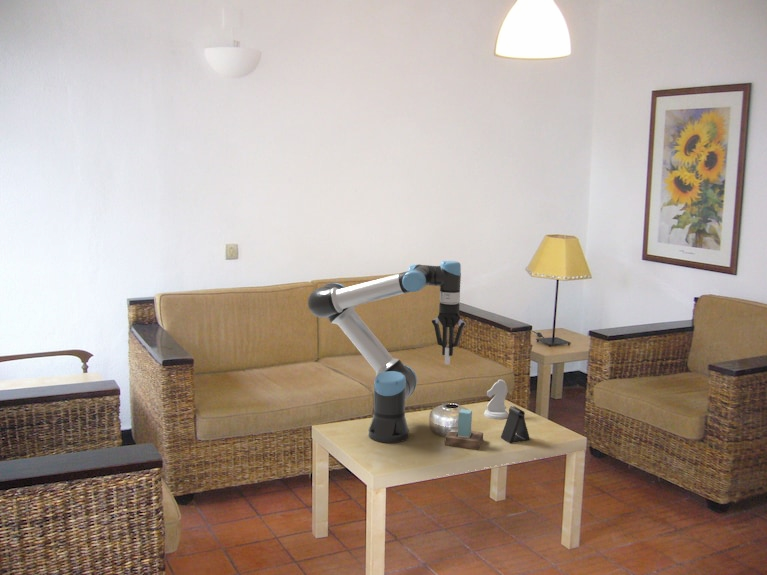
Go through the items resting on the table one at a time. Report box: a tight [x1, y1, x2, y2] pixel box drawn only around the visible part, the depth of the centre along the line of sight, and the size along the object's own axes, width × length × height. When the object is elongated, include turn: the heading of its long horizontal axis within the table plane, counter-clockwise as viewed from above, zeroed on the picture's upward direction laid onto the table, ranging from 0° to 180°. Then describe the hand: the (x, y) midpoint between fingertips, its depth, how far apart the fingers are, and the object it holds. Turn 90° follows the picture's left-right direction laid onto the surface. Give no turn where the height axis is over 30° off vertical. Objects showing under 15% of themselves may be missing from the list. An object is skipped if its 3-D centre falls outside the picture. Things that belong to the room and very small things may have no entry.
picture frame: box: [500, 405, 531, 444], centre depth 293 cm, size 9×6×12 cm, turn 114°
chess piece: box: [483, 379, 509, 420], centre depth 319 cm, size 10×10×15 cm
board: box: [444, 430, 484, 450], centre depth 288 cm, size 12×10×3 cm
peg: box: [457, 408, 473, 438], centre depth 288 cm, size 4×4×12 cm
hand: (447, 363), depth 297 cm, fingers closed
